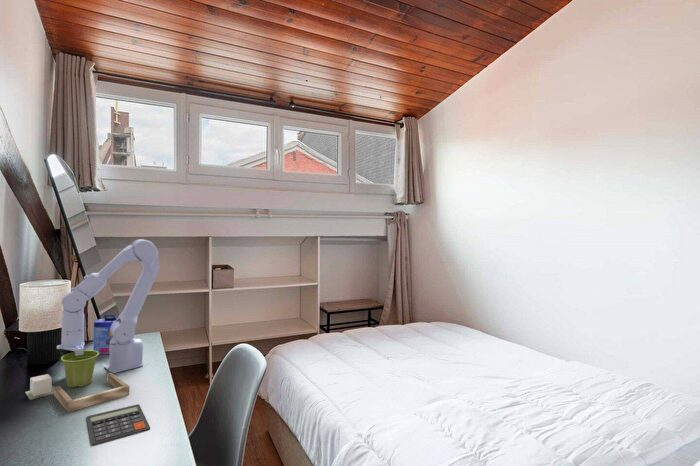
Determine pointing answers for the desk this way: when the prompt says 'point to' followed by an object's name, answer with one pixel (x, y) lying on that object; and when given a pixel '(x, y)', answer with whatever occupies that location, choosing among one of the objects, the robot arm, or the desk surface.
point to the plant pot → (79, 367)
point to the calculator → (116, 424)
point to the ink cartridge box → (103, 334)
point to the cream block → (40, 384)
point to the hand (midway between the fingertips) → (72, 372)
